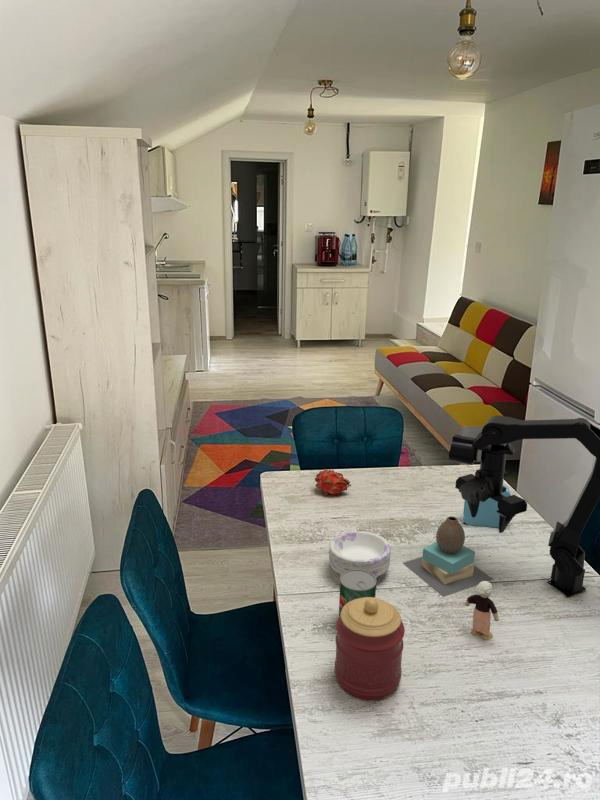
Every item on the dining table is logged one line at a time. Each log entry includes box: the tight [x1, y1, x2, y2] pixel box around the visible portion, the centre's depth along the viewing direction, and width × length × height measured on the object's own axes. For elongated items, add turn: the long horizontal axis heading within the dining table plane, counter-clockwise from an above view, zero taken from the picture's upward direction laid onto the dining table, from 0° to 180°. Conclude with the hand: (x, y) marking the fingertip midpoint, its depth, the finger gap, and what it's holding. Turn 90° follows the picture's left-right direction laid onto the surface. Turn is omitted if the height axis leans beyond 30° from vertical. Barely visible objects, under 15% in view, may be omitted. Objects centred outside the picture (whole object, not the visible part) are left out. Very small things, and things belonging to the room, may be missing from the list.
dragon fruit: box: [314, 468, 352, 497], centre depth 195 cm, size 8×8×12 cm
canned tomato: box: [338, 569, 377, 616], centre depth 133 cm, size 8×8×11 cm
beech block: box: [421, 555, 475, 585], centre depth 153 cm, size 9×9×3 cm
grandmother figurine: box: [464, 581, 500, 641], centre depth 130 cm, size 8×4×13 cm, turn 59°
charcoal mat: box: [402, 556, 494, 598], centre depth 153 cm, size 16×16×1 cm
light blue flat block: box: [462, 483, 512, 529], centre depth 176 cm, size 12×4×12 cm, turn 79°
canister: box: [334, 597, 406, 701], centre depth 116 cm, size 13×13×18 cm
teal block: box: [422, 541, 476, 575], centre depth 152 cm, size 9×9×3 cm
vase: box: [435, 515, 466, 554], centre depth 150 cm, size 7×7×9 cm
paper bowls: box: [328, 530, 392, 579], centre depth 152 cm, size 15×15×8 cm
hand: (486, 524), depth 153 cm, fingers open, 9 cm apart
